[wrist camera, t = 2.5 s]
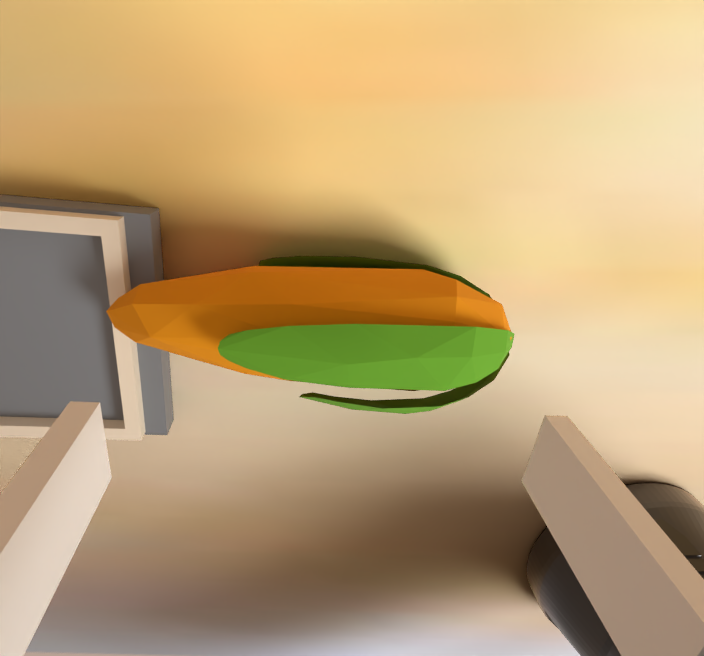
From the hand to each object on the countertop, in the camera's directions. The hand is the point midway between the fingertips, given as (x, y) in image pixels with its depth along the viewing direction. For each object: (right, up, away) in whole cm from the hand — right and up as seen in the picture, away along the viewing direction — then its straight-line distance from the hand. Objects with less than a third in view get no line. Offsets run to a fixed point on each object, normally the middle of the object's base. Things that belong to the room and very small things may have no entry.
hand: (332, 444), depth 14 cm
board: (-17, +4, +11) cm, 21 cm away
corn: (-1, +5, +13) cm, 14 cm away
